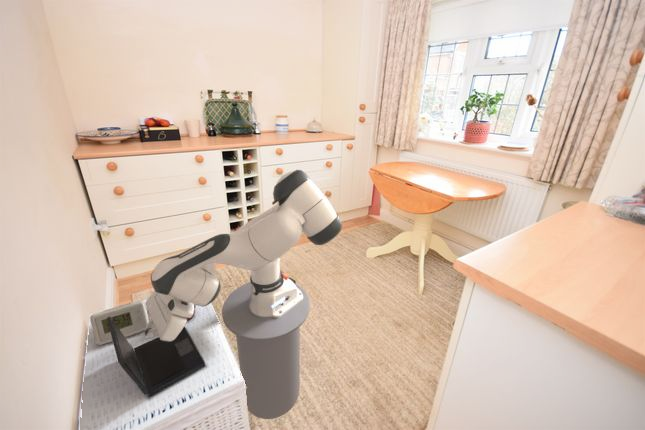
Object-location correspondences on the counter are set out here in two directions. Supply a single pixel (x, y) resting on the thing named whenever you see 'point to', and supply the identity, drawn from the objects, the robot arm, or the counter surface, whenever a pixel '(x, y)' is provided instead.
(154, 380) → the laptop
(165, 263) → the robot arm
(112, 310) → the digital clock
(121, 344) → the laptop screen
